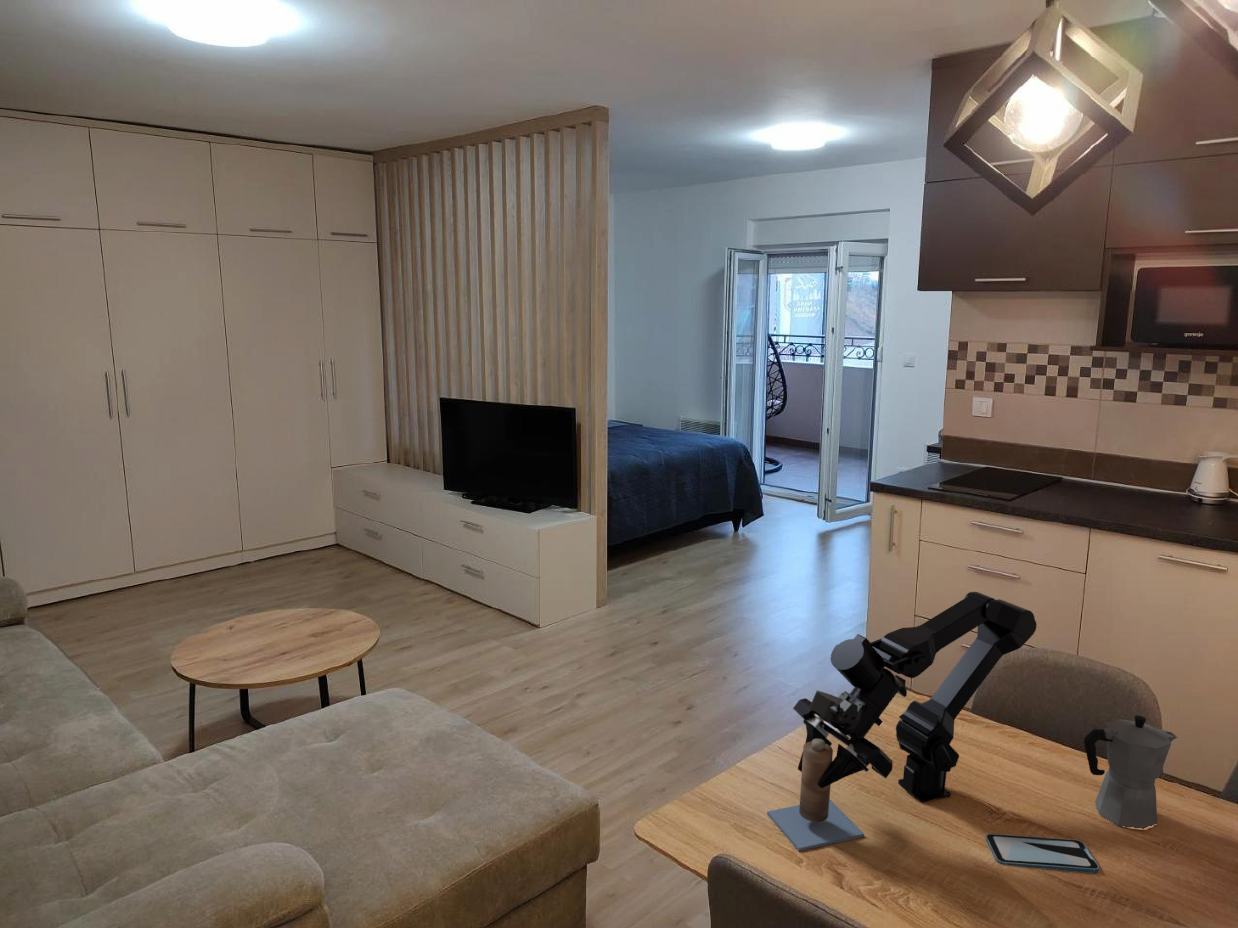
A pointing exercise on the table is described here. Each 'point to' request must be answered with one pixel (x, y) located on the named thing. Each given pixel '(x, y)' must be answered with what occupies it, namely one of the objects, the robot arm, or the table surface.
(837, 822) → the placemat
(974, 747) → the table surface
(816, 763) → the pepper mill
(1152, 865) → the table surface
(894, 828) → the table surface
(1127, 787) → the coffeepot
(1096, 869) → the smartphone
